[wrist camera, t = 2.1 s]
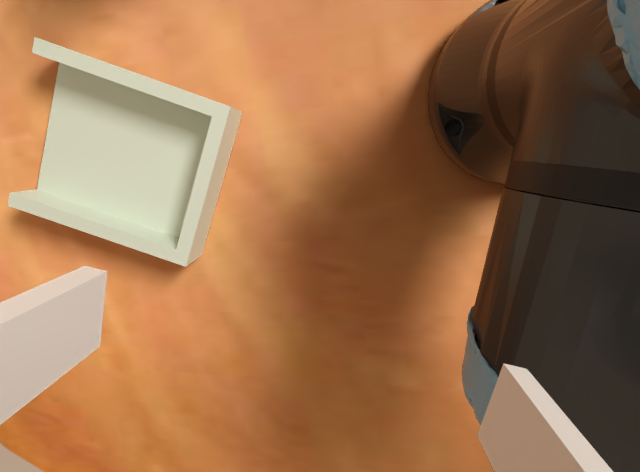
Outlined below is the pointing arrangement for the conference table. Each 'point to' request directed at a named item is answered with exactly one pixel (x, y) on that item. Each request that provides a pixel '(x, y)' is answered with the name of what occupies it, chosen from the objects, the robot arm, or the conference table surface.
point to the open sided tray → (130, 158)
